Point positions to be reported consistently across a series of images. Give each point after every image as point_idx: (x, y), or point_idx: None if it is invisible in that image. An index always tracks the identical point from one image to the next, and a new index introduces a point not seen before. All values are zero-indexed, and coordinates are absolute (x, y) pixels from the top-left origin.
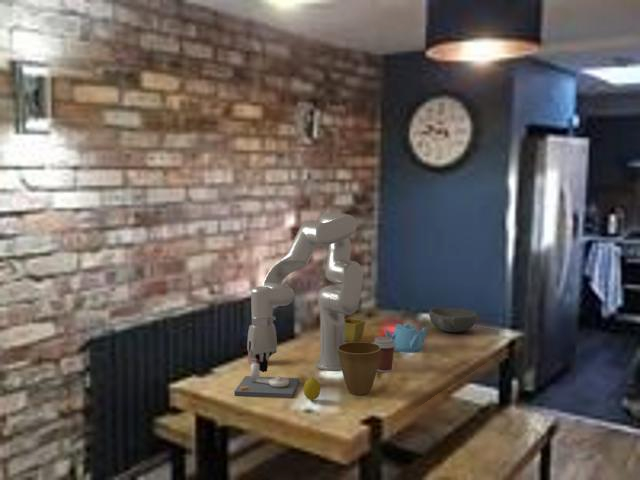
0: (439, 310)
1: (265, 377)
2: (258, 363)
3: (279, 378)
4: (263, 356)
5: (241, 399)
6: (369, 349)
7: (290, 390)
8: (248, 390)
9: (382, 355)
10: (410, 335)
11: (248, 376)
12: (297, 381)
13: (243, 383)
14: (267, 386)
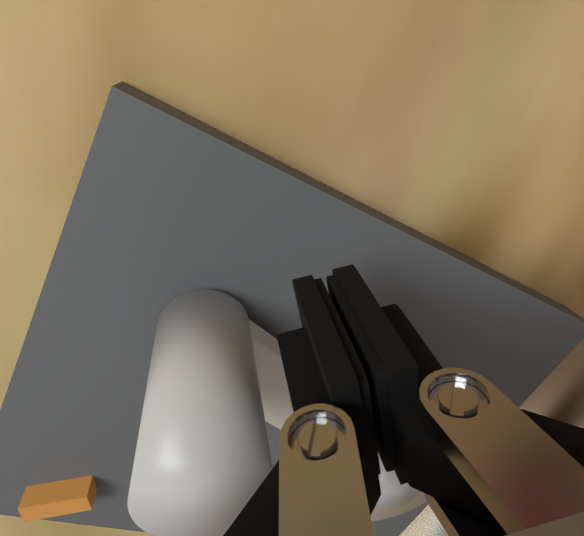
0: None
1: (344, 232)
2: (269, 470)
3: (390, 506)
4: (443, 447)
5: (45, 532)
6: None
7: (392, 521)
8: (100, 503)
9: None
10: None
11: (154, 124)
12: (529, 392)
13: (64, 351)
14: (276, 450)
